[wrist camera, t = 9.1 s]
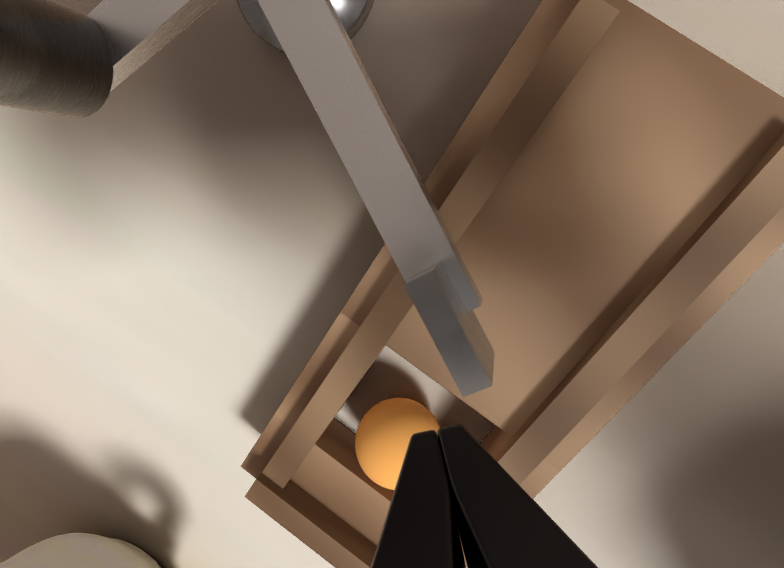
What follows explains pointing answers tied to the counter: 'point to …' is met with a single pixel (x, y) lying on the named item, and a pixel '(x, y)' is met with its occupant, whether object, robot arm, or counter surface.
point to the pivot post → (348, 3)
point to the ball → (389, 437)
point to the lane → (551, 256)
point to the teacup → (81, 553)
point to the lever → (330, 100)
